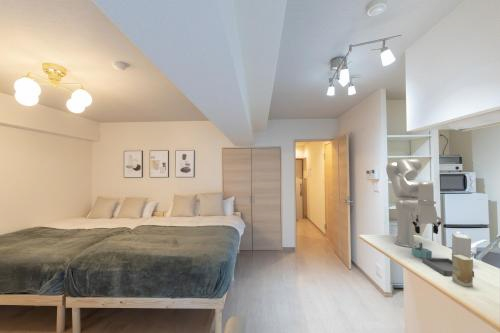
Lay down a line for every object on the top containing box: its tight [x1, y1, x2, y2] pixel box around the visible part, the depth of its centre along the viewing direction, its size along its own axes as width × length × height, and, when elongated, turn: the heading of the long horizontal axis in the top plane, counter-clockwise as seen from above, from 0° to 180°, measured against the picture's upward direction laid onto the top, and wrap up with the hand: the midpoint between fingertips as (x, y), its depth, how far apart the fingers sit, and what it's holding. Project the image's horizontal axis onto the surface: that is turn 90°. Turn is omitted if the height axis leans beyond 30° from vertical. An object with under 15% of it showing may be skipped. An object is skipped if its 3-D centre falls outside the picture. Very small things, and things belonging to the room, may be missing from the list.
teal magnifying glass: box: [410, 246, 433, 259], centre depth 147 cm, size 12×8×6 cm, turn 175°
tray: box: [421, 257, 475, 278], centre depth 129 cm, size 18×14×2 cm
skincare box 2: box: [451, 255, 474, 287], centre depth 113 cm, size 6×4×12 cm
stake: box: [418, 242, 424, 251], centre depth 148 cm, size 3×3×8 cm
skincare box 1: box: [451, 232, 472, 261], centre depth 137 cm, size 8×7×16 cm
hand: (426, 233), depth 142 cm, fingers open, 9 cm apart
